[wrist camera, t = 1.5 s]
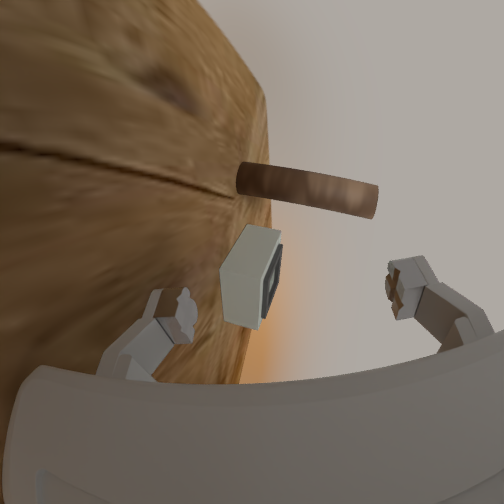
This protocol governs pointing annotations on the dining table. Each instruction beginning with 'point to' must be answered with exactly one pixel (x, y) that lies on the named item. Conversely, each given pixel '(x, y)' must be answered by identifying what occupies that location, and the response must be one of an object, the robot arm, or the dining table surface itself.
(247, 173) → the dowel
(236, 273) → the collar block
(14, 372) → the dining table surface
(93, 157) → the dining table surface
